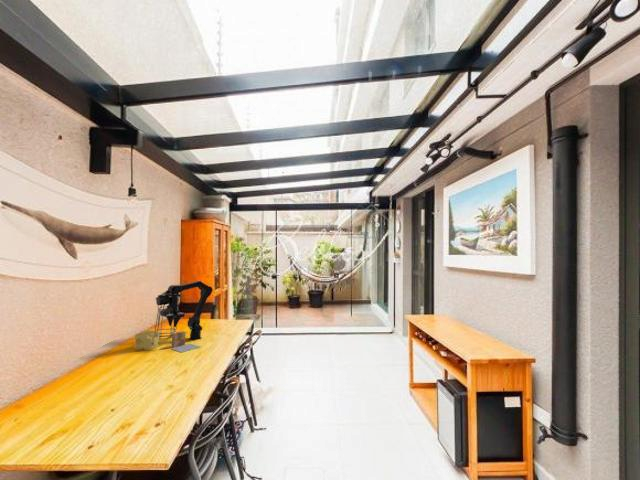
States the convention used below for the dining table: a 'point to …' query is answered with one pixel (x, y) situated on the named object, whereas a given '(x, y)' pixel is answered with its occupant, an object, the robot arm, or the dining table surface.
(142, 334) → the cheese
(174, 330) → the geometric lantern
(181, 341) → the walnut slab
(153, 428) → the dining table surface
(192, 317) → the robot arm
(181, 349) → the grey mat
